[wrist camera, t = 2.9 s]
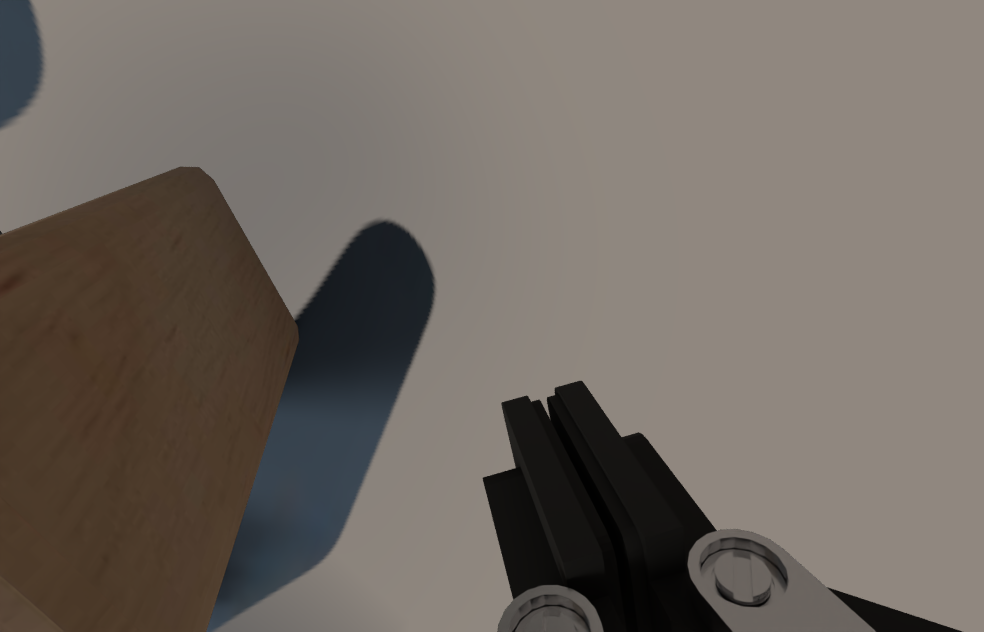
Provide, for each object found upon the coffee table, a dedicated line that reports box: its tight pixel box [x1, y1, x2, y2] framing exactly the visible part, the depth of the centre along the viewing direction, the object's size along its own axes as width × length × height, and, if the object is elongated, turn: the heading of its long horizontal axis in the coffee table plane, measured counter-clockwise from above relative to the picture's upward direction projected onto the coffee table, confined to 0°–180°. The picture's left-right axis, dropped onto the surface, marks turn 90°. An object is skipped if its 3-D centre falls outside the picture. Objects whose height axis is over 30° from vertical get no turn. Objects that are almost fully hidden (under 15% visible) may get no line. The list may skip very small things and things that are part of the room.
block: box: [0, 167, 299, 632], centre depth 17 cm, size 10×10×20 cm
